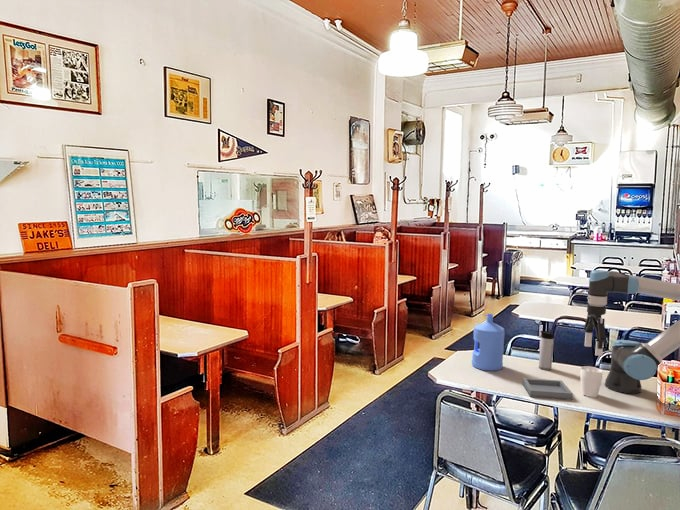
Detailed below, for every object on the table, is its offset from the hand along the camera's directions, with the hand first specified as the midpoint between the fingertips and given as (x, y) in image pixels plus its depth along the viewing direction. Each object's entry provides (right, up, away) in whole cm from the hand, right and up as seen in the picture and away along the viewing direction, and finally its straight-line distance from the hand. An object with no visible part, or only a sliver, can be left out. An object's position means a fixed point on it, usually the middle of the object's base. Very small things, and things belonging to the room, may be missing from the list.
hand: (593, 350), depth 228 cm
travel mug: (-7, -17, +37) cm, 41 cm away
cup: (0, -21, +2) cm, 21 cm away
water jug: (-37, -16, +38) cm, 55 cm away
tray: (-19, -20, +5) cm, 28 cm away
